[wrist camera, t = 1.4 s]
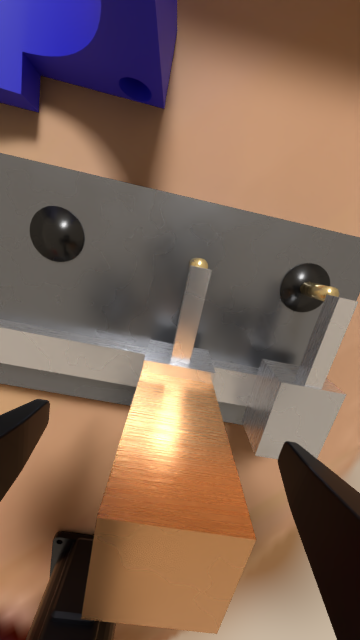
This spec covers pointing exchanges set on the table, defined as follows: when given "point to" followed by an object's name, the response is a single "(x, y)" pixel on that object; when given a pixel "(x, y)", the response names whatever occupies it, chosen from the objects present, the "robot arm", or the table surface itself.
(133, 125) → the table surface
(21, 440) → the robot arm
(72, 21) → the cable clip
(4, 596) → the table surface
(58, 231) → the plate
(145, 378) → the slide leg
